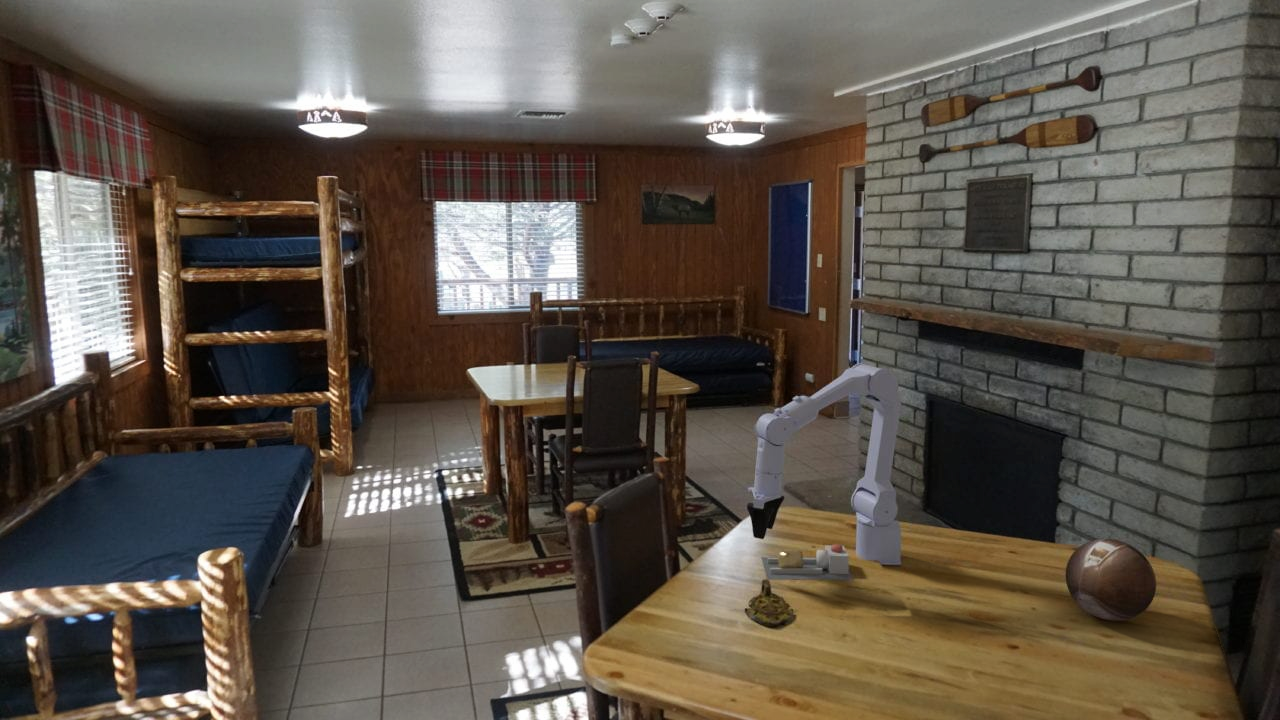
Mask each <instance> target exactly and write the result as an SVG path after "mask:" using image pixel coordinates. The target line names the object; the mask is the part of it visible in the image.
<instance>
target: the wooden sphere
mask: <svg viewBox="0 0 1280 720" xmlns="http://www.w3.org/2000/svg"><path fill="white" fill-rule="evenodd" d="M1140 551H1141V550H1139V549H1137V548H1136V547H1134V546H1132V545H1131V544H1129V543H1126V542H1124V541H1121V540H1118V539H1112V538H1099V539H1094V540H1090V541H1087V542H1085V543H1083V544H1081V545H1080V546H1079V547H1078V548H1076V550H1074V551H1073V553H1071V556H1070V557H1069V559H1068V561H1067V563H1066V566H1065V567H1066V568H1065V583H1066V587H1067V589H1068V592H1069V594H1070V596H1071V597H1072V599H1073V600H1074V601H1075V603H1076V604H1077V605H1078V606H1079V607H1080V608H1081V609H1083V610H1084V611H1085V612H1087V613H1088V614H1090V615H1092V616H1094V617H1097V618H1099V619H1102V620H1106V621H1114V622H1116V621H1117V622H1118V621H1126V620H1130V619H1133V618H1135V617H1138V616H1139V615H1141V614H1142V613H1144V612H1145V611H1146V610H1147V609H1148V608H1149V606H1150V605H1151V604H1152V602H1153V601H1154V598H1155V595H1156V591H1157V579H1156V573H1155V571H1154V568H1153V567H1152V565H1151V563H1150V561H1149V560H1148V558H1147V557H1146V556H1145V555H1144V554H1143V553H1142V552H1140Z"/></svg>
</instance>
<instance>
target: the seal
mask: <svg viewBox="0 0 1280 720" xmlns="http://www.w3.org/2000/svg"><path fill="white" fill-rule="evenodd" d="M770 582H771V581H770V579H767V578H765V579H764V578H763V579H762V580H761V586H760V587H761V589H760V593H759V594H758V595H757V594H756V596H752V598H751V599H749V601H748V607H746V608H744V613H745V614H746V616H747V617H748V618H749V619H750V620H751V621H753V622H754V623H757V624H758V625H760V626H763V627H766V628H770V629H771V628H772V629H774V628H775V629H776V628H777V627H780V626H785V625H787V624H789V623H791V622H792V621H793V619H794V609H793V608H789V607H790V604H789V603H788V602H786V601H785V598H784V597H782V596H780V597H779V596H777V595H776V594H775V593H774V594H773V593H772V592H773V590H772V587H771V583H770Z"/></svg>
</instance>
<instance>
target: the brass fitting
mask: <svg viewBox="0 0 1280 720" xmlns="http://www.w3.org/2000/svg"><path fill="white" fill-rule="evenodd" d="M776 557H777V559H778V568H803V557H804V553H803V551H802V550H777V556H776Z"/></svg>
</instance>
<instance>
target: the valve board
mask: <svg viewBox="0 0 1280 720" xmlns="http://www.w3.org/2000/svg"><path fill="white" fill-rule="evenodd" d="M815 556H816V557H806V556H805V557H804V556H803V568H778V559H777V556H776V557H775V556H773V557H772V556H768V557H767V556H762V557H761V561H762V565H763V568H764V573H765V577H766V579H767V580H803V581H807V580H808V581H809V580H811V581H812V580H814V581H815V580H817V581H819V580H820V581H821V580H822V581H824V580H825V581H826V580H827V581H833V580H835V581H847V580H848V581H854V577H853V575H852V574H851V571H850V570H849V566H850V565H849V564H850V563H849V561H850V560H849V559H850V555H849V553H848V551H847V550H846V548H845V546H844V545H842V544H839V543H835V544H834V543H833V544H831V545H824V549H817V550H816V555H815Z"/></svg>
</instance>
